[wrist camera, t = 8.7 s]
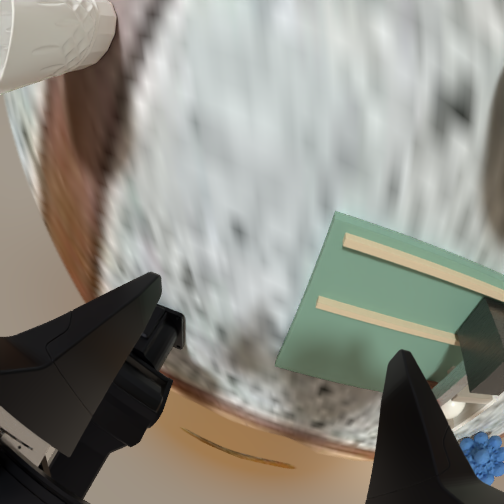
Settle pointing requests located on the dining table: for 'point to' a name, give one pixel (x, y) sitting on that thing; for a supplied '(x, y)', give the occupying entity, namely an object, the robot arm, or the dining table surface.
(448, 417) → the ball
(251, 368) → the dining table surface
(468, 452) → the grapes
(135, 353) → the robot arm
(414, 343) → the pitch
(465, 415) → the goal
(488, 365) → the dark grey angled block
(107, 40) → the white cup
